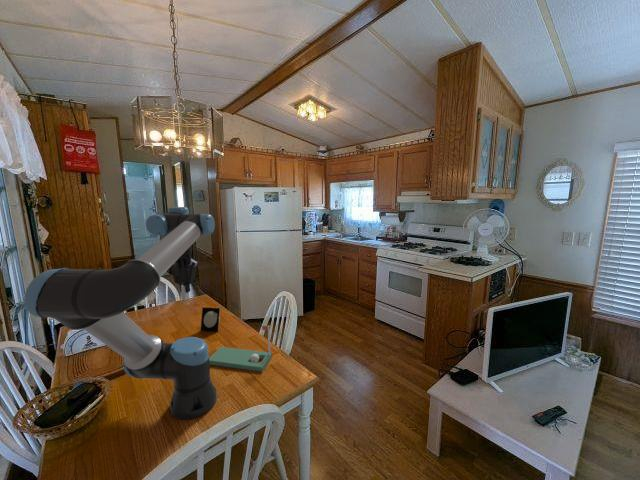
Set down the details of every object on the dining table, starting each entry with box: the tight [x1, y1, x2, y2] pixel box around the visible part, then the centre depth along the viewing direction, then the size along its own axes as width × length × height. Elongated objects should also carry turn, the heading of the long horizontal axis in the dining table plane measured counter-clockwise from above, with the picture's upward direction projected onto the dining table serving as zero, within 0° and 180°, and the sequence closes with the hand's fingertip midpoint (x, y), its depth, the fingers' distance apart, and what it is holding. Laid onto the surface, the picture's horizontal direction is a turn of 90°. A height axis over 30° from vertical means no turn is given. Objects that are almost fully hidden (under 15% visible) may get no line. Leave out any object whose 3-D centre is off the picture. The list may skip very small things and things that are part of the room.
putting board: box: [209, 325, 273, 373], centre depth 122 cm, size 11×26×16 cm, turn 79°
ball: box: [250, 354, 260, 363], centre depth 122 cm, size 4×4×4 cm
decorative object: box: [200, 307, 221, 333], centre depth 153 cm, size 13×10×10 cm
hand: (185, 299), depth 116 cm, fingers closed
